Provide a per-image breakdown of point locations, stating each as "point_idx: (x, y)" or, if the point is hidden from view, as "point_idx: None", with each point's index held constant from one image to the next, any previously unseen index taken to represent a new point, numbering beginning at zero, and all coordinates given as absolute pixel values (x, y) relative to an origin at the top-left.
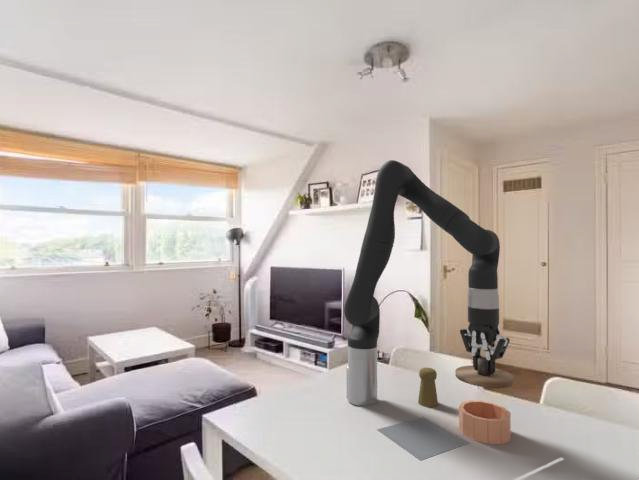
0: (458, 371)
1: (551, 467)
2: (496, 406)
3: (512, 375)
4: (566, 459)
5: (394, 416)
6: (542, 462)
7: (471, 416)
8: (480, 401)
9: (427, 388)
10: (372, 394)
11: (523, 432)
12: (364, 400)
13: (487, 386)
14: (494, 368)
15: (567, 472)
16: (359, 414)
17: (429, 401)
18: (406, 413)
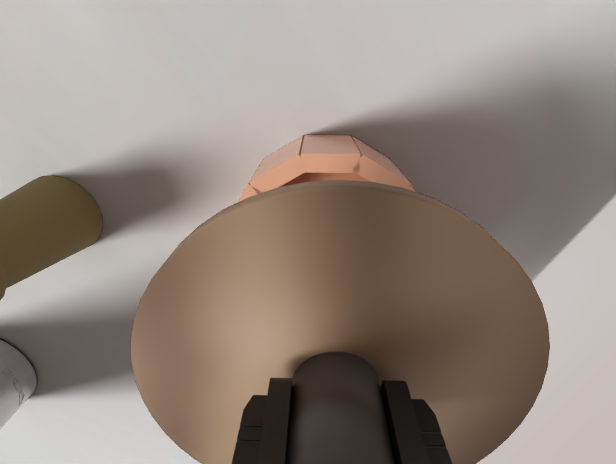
0: (216, 456)
1: (553, 218)
2: (327, 171)
3: (497, 247)
4: (578, 133)
5: (121, 356)
6: (525, 216)
7: None
8: (254, 194)
9: (32, 272)
10: (4, 394)
11: (398, 79)
12: (22, 401)
13: None
14: (438, 438)
15: (595, 204)
16: (84, 414)
17: (80, 246)
18: (112, 318)
